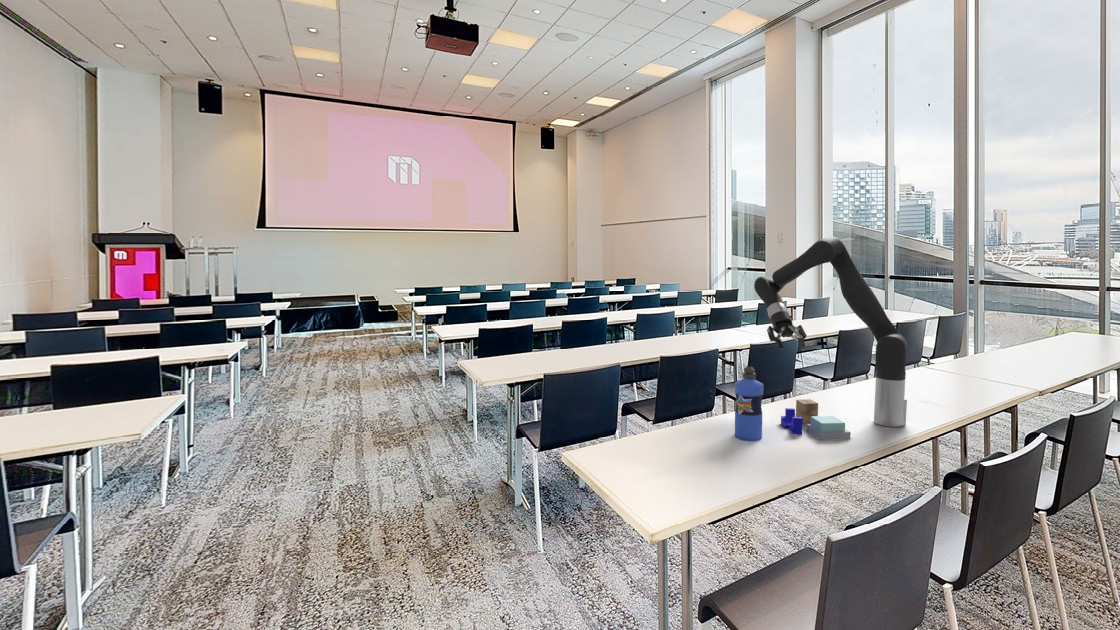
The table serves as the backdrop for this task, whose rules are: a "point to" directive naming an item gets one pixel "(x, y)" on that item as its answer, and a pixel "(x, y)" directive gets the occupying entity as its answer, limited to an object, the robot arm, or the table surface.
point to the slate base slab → (828, 434)
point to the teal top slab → (827, 423)
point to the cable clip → (792, 421)
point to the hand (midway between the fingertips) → (792, 348)
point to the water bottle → (748, 407)
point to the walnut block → (806, 410)
